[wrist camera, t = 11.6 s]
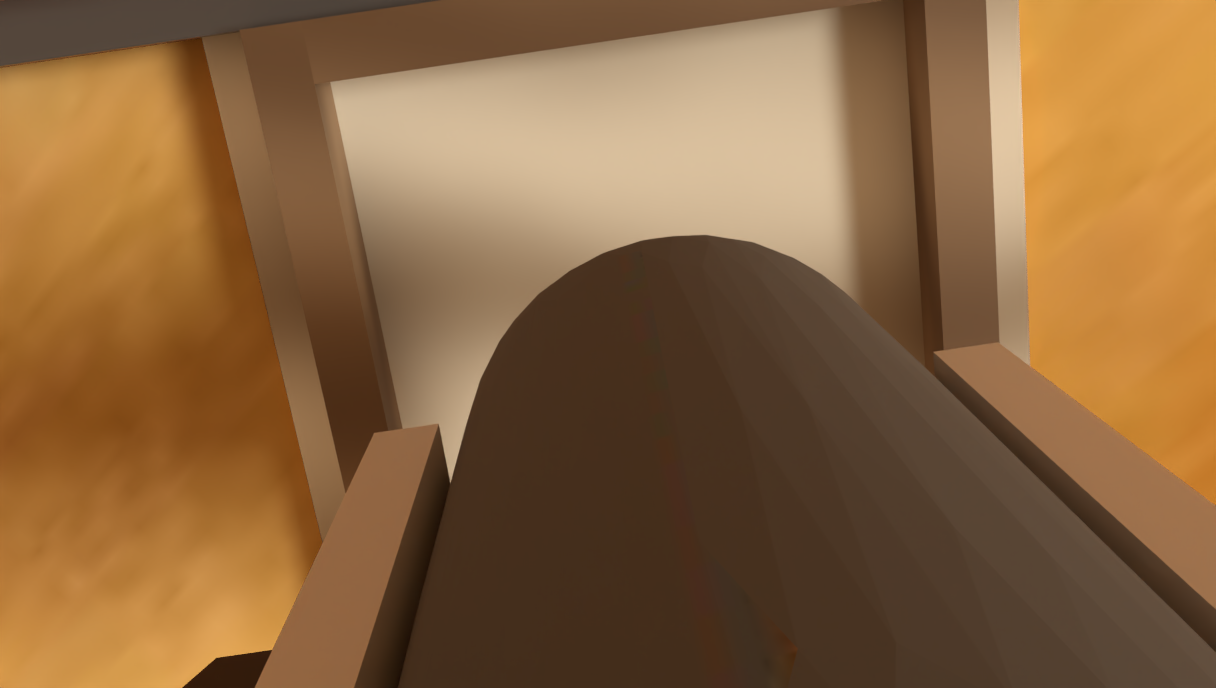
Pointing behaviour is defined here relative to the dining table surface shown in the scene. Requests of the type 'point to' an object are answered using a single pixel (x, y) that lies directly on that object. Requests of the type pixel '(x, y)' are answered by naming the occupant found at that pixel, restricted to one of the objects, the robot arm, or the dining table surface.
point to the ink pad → (146, 22)
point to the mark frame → (606, 177)
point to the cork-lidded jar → (757, 506)
